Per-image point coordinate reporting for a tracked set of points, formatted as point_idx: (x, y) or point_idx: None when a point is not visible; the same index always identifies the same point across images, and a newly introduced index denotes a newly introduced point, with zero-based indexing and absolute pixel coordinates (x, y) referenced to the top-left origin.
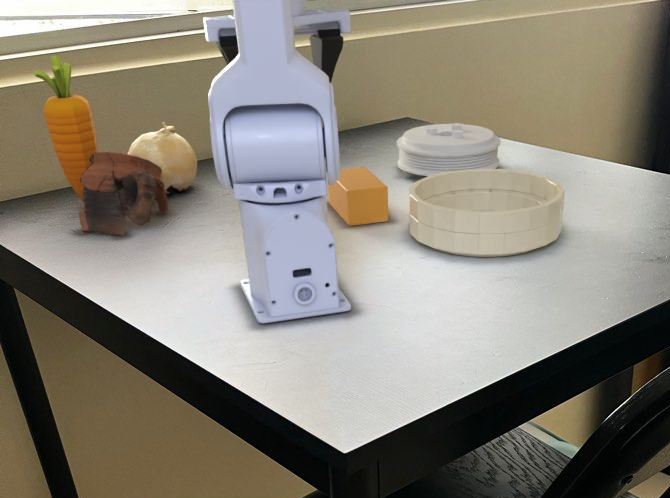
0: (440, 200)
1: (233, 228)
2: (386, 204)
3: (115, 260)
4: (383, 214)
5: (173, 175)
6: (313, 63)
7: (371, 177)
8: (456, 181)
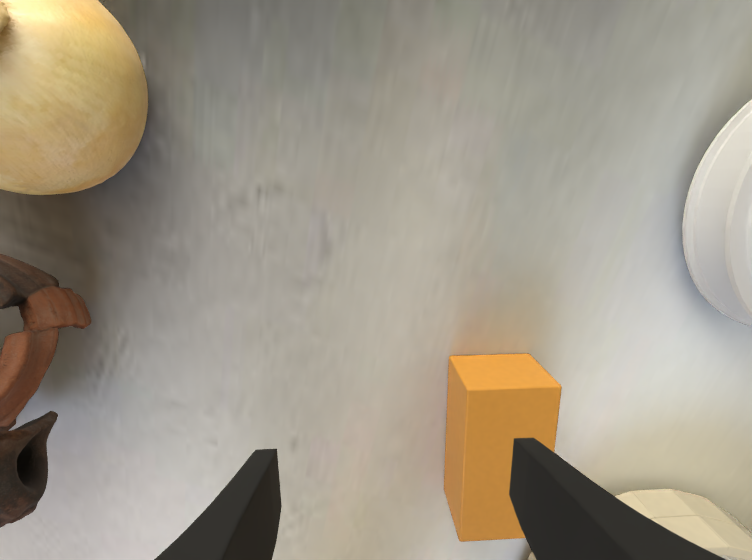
0: None
1: (236, 436)
2: None
3: (21, 531)
4: None
5: (75, 191)
6: (615, 547)
7: None
8: None
